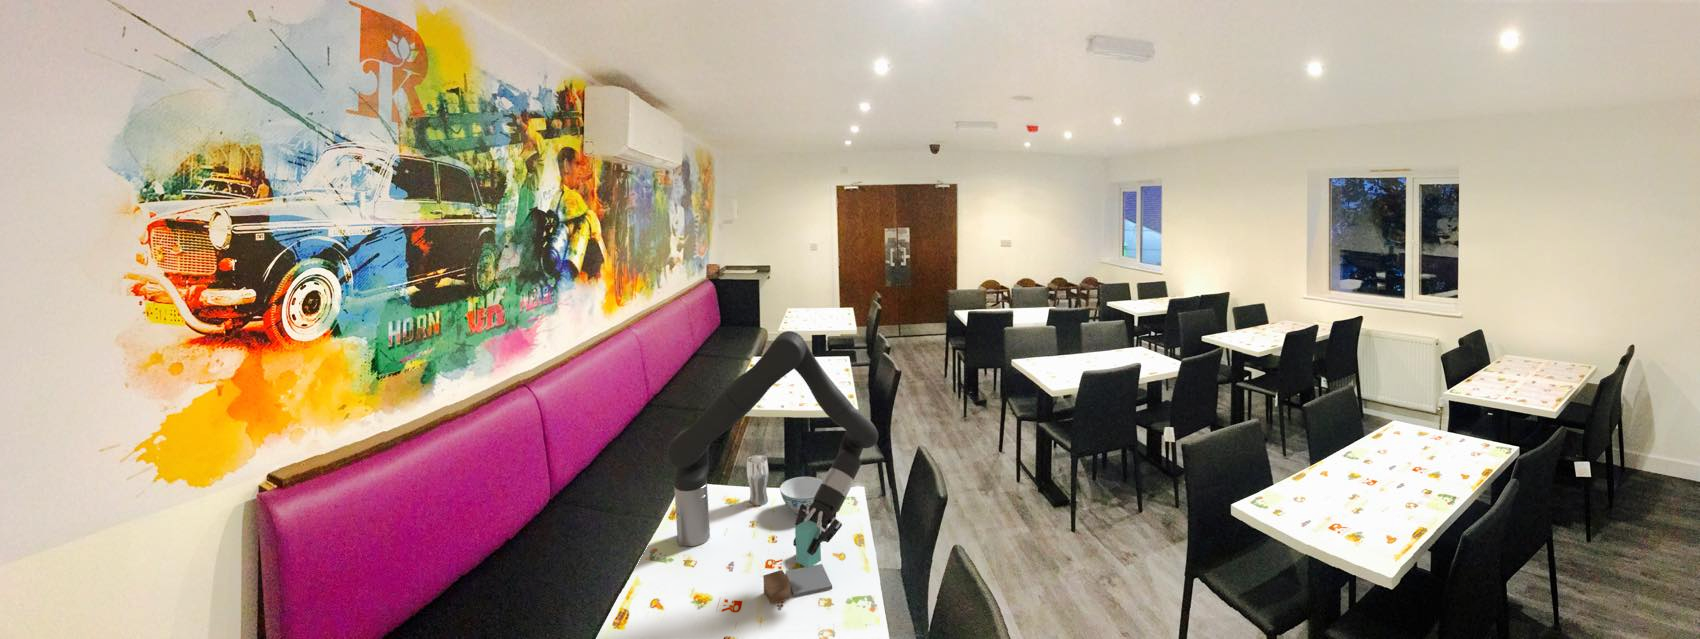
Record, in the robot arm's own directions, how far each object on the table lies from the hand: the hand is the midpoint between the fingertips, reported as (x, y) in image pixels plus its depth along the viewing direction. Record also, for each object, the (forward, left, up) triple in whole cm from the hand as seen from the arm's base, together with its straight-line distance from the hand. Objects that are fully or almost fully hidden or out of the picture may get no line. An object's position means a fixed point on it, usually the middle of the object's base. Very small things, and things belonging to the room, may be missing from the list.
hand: (802, 549), depth 151 cm
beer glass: (-3, +48, -10) cm, 49 cm away
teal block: (+2, +1, -4) cm, 5 cm away
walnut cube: (-7, -2, -10) cm, 13 cm away
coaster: (+2, +1, -10) cm, 10 cm away
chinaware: (+10, +38, -10) cm, 40 cm away
